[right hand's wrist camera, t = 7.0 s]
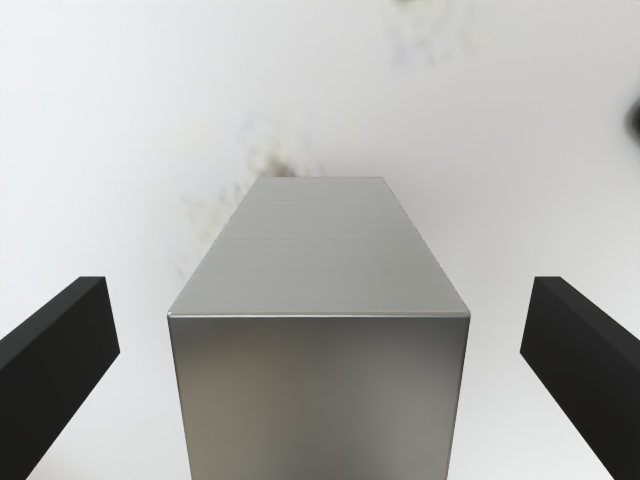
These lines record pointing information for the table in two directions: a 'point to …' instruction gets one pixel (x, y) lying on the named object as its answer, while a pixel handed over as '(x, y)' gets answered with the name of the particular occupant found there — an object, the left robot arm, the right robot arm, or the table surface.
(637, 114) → the smartphone
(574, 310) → the right robot arm
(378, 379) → the bar
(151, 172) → the table surface
